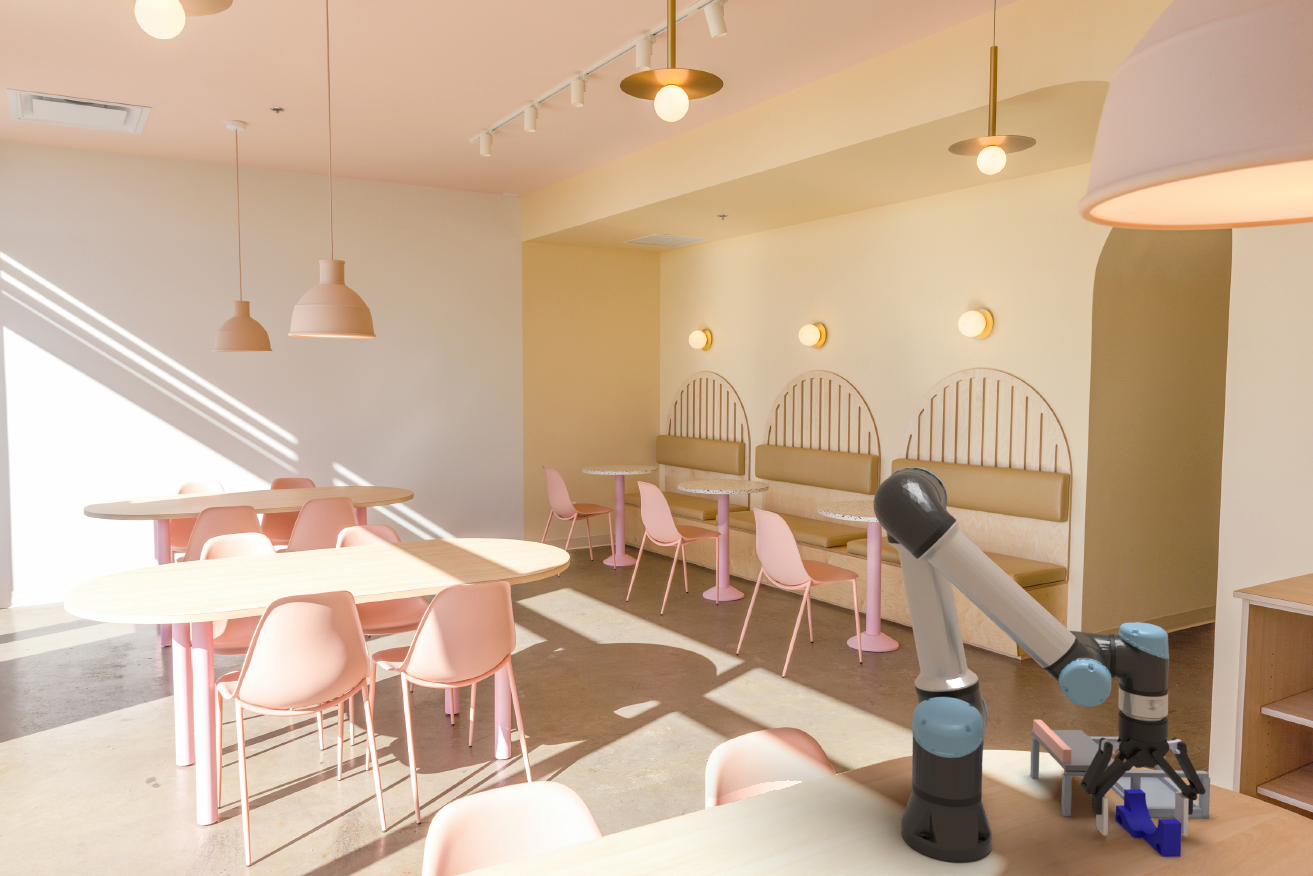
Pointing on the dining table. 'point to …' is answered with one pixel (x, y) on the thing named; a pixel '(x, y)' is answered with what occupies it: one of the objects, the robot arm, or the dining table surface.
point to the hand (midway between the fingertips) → (1141, 831)
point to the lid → (1067, 746)
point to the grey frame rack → (1135, 786)
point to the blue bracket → (1148, 824)
